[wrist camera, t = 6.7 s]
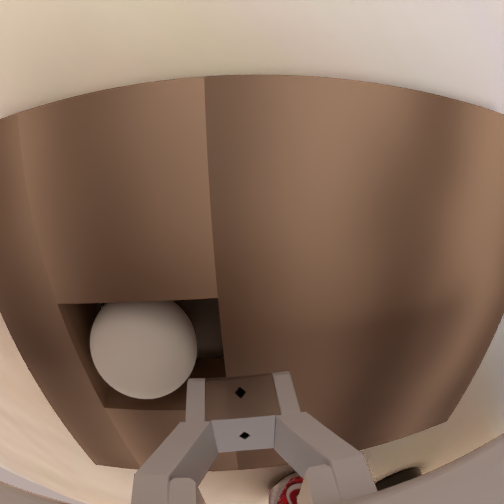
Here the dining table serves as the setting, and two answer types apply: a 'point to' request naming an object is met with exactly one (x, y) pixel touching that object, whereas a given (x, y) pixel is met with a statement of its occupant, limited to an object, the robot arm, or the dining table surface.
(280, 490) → the soda can
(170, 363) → the ball
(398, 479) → the supplement bottle
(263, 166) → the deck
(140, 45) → the dining table surface
